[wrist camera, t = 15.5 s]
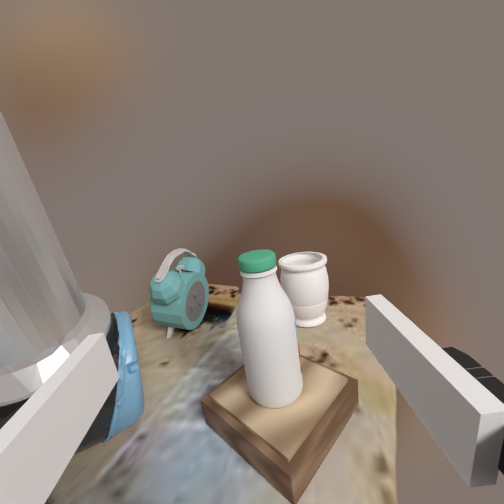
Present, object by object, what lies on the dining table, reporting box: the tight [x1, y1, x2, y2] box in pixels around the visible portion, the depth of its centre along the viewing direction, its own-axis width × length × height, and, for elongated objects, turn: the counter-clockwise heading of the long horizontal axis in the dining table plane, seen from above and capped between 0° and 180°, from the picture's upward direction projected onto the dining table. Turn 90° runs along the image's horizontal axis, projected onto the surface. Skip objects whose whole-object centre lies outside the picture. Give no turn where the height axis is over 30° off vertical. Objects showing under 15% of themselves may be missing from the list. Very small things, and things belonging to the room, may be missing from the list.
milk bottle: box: [237, 250, 303, 409], centre depth 35 cm, size 8×8×20 cm
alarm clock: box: [149, 248, 209, 339], centre depth 65 cm, size 17×10×20 cm, turn 164°
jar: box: [279, 252, 329, 327], centre depth 60 cm, size 11×10×15 cm
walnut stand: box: [201, 355, 359, 504], centre depth 38 cm, size 16×16×5 cm
